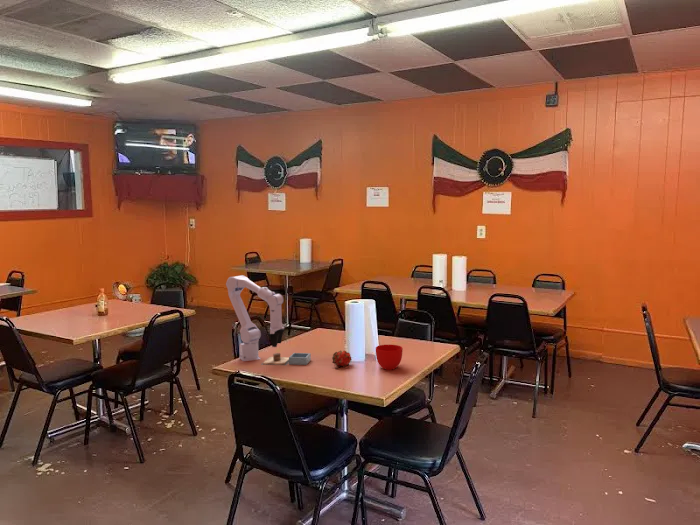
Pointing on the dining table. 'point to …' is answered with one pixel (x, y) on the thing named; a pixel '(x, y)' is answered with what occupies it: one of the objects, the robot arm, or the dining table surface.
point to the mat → (273, 364)
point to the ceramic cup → (389, 356)
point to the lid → (276, 360)
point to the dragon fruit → (341, 358)
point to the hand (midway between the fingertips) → (276, 345)
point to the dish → (300, 358)
